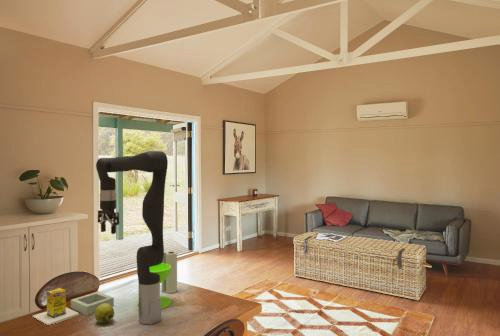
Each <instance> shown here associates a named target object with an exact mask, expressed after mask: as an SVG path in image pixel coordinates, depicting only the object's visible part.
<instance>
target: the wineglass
mask: <svg viewBox="0 0 500 336" xmlns="http://www.w3.org/2000/svg"><path fill="white" fill-rule="evenodd" d="M149 269H150V272H154V273H158V274H159V275H160V284H162V282H163V281H164V280H165V279H166V278H167V277H168V275H169V273H170V270H171V266H170V265H168V264H164V263H161V264H159V265H156V266H151V267H149ZM160 299H161V310H162V309H164V308H167V307H169V306H170V305H171V303H172V301H171V300H170V298H169V297H166V296H162V295H160ZM137 308H139V302H138V303H137Z"/></svg>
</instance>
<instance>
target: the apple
mask: <svg viewBox="0 0 500 336" xmlns="http://www.w3.org/2000/svg"><path fill="white" fill-rule="evenodd" d="M114 316H115V309H114V306H111V305H110V304H108V303H104V304H101V305H99V306H98V307H97V309H96V311H95V313H94V318H95V320H96V321H97V323H101V324H106V323H109V322H110V321H111V320H113V318H114Z"/></svg>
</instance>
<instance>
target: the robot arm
mask: <svg viewBox="0 0 500 336" xmlns="http://www.w3.org/2000/svg"><path fill="white" fill-rule="evenodd" d="M168 162H169V161H168V157H167V154H166V153H165V152H164V151H161V150H148V151H144V152H141V153H138V154H135V155H131V156H130V155H129V156H128V155H125V156H123V155H122V156H116V157H100V158H98V159H97V161H96V163H95V168H96V172H97V177H98V180H99V184H100V185H99V210H97V223H99V224H100V232H101V233H105V232H106V231H107V229H106V228H107V224H106V223H107V221H108V223H110V224H109V225H110V231H111V232H110V233H111V235H115V234H116V233H117V226H118V225H120V212H119V211H115V209H116V210H117V190H116V189H117V185H116V182H117V181H116V178H115V177H112V176H109V173H120V172H121V173H122V172H123V173H125V172H130V171H141V172H145V173H152V178H151V179H152V181H151V183H150V186H149V189H148V190H147V192H146V194H145V196H144V198H143V199H142V213H141V214H142V216H141V217H142V219H143V221H144V223H145V225H146V227H147V228H148V229H149V232H150V235H151V245H145V246H140V247H139V248H138V249H137V251H136V269H137V270H136V272H137V273H136V274H137V278H138V279H137V280H138V303H139V307H138V322H139V324H143V325H154V324H156V323H158V322H160V321H162V319H163V318H162V309H161V299H160V296H161V283H160V275H159V274H158V273H154V272H150V269H149V267H151V266H156V265H159V264H161V263H162V262H163V258H164V253H165V246H164V216H165V215H164V213H165V191H166V190H165V189H166V180H167V174H168V173H167V172H168V164H169V163H168Z"/></svg>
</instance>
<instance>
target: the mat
mask: <svg viewBox="0 0 500 336" xmlns="http://www.w3.org/2000/svg"><path fill="white" fill-rule="evenodd" d="M78 316H80V312H78V311H76V310H74V309H72V308H70V307H67V306H66V314H63V315H60V316H57V317H55V318H52V317H50V316H48V315H47V310H46V311H43V312H40V313H36V314H33V315H32V318H33V317H34V318H36V319H37V320H39V321H41V322H43V323H44V324H43V323H42V324H43V325H45V324H46V325H50V326H52V325H51V324H53V325H55V323H56V324H58V323H61V322H64V321H66V320H70V319H73V318H77V317H78ZM34 318H33V319H34ZM36 319H35V320H36ZM37 320H36V321H37ZM39 321H38V322H39ZM41 322H40V323H41ZM46 325H45V326H46Z"/></svg>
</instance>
